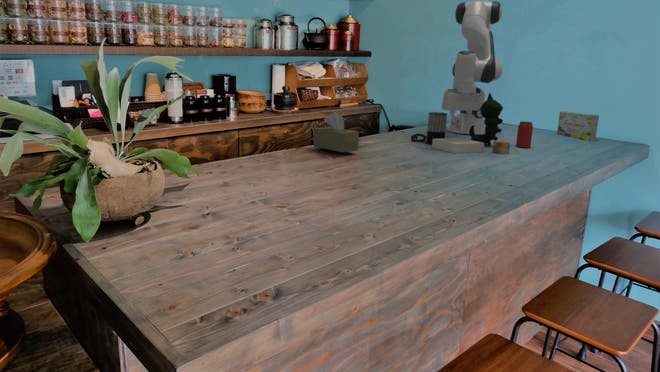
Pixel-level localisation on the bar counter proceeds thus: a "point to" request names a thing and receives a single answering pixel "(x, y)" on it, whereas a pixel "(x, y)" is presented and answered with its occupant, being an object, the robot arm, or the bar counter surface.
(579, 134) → the snack box
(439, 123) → the milk frother
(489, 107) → the toy figurine
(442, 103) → the robot arm
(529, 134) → the beer can
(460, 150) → the cream base
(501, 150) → the block
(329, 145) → the tissue box
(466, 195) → the bar counter surface
